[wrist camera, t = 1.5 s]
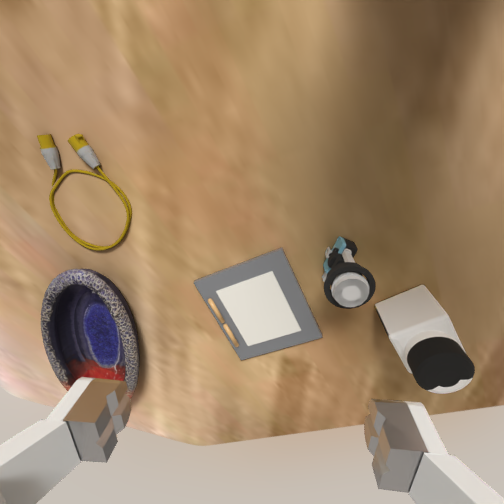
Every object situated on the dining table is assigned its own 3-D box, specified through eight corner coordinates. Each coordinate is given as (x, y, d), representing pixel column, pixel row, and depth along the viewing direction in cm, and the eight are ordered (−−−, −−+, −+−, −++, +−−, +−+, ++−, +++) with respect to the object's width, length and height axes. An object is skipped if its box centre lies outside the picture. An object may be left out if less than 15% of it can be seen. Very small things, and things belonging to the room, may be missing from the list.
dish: (146, 268, 45) (130, 285, 40) (147, 404, 58) (136, 429, 53) (46, 250, 45) (19, 265, 41) (71, 389, 58) (53, 413, 54)
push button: (340, 283, 42) (355, 329, 33) (305, 269, 42) (311, 312, 33) (364, 243, 39) (388, 282, 30) (328, 228, 39) (340, 263, 30)
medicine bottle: (373, 303, 43) (402, 368, 32) (423, 282, 41) (472, 344, 30) (392, 338, 45) (425, 409, 34) (441, 320, 43) (493, 389, 32)
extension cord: (138, 148, 37) (131, 150, 36) (130, 256, 44) (123, 262, 43) (44, 122, 37) (31, 122, 35) (50, 234, 44) (40, 239, 42)
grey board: (281, 247, 41) (281, 251, 39) (322, 334, 46) (323, 340, 45) (194, 280, 44) (192, 285, 43) (241, 357, 50) (240, 363, 49)
